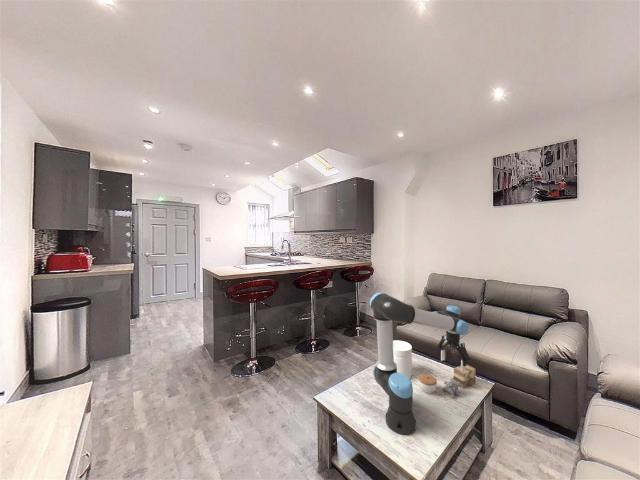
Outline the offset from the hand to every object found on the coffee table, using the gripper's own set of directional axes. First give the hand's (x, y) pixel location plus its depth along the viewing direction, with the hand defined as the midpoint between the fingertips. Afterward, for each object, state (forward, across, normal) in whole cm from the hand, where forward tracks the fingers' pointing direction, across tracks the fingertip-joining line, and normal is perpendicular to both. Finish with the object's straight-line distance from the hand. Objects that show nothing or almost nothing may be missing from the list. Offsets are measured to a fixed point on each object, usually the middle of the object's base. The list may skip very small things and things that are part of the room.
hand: (452, 365), depth 154 cm
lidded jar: (+17, +8, +13) cm, 23 cm away
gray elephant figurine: (+17, 0, 0) cm, 17 cm away
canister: (+17, +30, +15) cm, 37 cm away
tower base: (+17, +2, -15) cm, 23 cm away
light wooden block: (+12, +2, -15) cm, 19 cm away
